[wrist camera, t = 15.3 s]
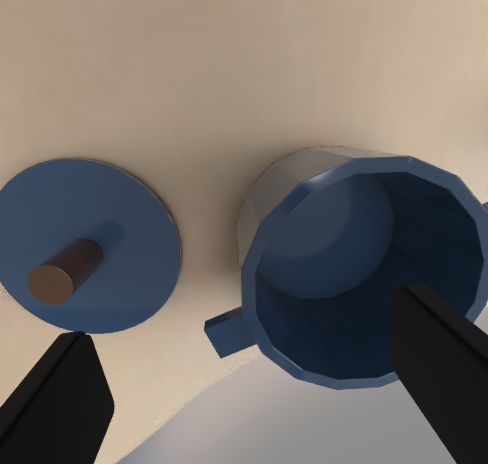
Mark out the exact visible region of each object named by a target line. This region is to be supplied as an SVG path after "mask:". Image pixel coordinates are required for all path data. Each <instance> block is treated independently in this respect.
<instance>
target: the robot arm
mask: <svg viewBox="0 0 488 464" xmlns="http://www.w3.org/2000/svg"><path fill="white" fill-rule="evenodd" d="M393 367H394V370H395V372H396V374H397V376H398V378H399V379H400V381H401V382H402V383H403V385H404V386H405V388H406V389H407V391H408V392H409V394H410V395H411V397H412V398H413V400H414V401H415V403H416V404H417V406H418V407H419V409H420V410H421V412H422V413H423V414H424V416H425V417H426V419H427V420H428V422H429V423H430V425H431V426H432V428H433V429H434V430H435V432H436V434H437V435H438V436H439V438H440V439H441V441H442V442H443V444H444V445H445V447H446V448H447V450H448V451H449V453H450V454H451V456H452V457H453V459H454V460H455V462H456V463H457V464H488V335H487V334H486V333H484V332H483V331H482V330H481V329H480V328H478V327H477V326H476V325H474V324H473V323H472V322H471V321H470V320H468V319H467V318H466V317H465V316H463V315H462V314H461V313H460V312H458V311H457V310H456V309H455V308H453V307H452V306H451V305H450V304H448V303H447V302H446V301H445V300H443V299H442V298H441V297H440V296H438V295H437V294H436V293H435V292H433V291H432V290H431V289H430V288H428V287H427V286H426V285H424V284H423V283H419V284H412V285H405V286H402V287H401V288H400V291H397V292H396V294H395V309H394V340H393ZM113 414H114V400H113V397H112V395H111V392H110V389H109V386H108V383H107V380H106V377H105V374H104V372H103V369H102V366H101V363H100V360H99V357H98V354H97V352H96V349H95V346H94V343H93V340H92V338H91V336H90V335H86V334H85V333H84V332H83V331H76V332H69V333H63V334H60V335H59V336H58V337H57V339H56V340H55V341H54V342H53V344H52V345H51V346H50V347H49V349H48V350H47V351H46V352H45V353H44V355H43V356H42V357H41V358H40V360H39V361H38V362H37V363H36V364H35V366H34V367H33V368H32V369H31V371H30V372H29V373H28V374H27V376H26V377H25V378H24V379H23V380H22V382H21V383H20V384H19V385H18V387H17V388H16V389H15V390H14V391H13V393H12V394H11V395H10V396H9V398H8V399H7V400H6V401H5V403H4V404H3V405H2V406H1V407H0V464H94V462H95V459H96V457H97V454H98V452H99V449H100V447H101V444H102V442H103V439H104V437H105V434H106V432H107V429H108V427H109V424H110V422H111V419H112V417H113Z"/></svg>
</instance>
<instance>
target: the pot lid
mask: <svg viewBox="0 0 488 464" xmlns="http://www.w3.org/2000/svg"><path fill="white" fill-rule="evenodd" d="M180 267H181V245H180V239H179V235H178V232H177V229H176V226H175V224H174V221H173V219H172V217H171V215H170V213H169V212H168V210H167V209H166V207H165V206H164V204H163V203H162V202H161V200H160V199H159V198H158V197H157V196H156V194H155V193H154V192H153V191H152V190H151V189H149V188H148V187H147V186H146V185H145V184H144V183H142V182H141V181H140V180H138V179H137V178H136V177H134V176H132V175H131V174H129V173H127V172H125V171H124V170H122V169H119V168H117V167H115V166H112V165H110V164H107V163H103V162H100V161H96V160H89V159H83V158H65V159H56V160H51V161H47V162H43V163H39V164H37V165H34V166H32V167H29V168H27V169H25V170H24V171H22V172H20V173H19V174H17V175H16V176H15V177H13V178H12V179H11V180H10V181H9V182H7V184H6V185H5V186H4V187H3V188H2V189H1V191H0V282H1V283H2V285H3V286H4V287H5V289H6V290H7V291H8V293H9V294H10V295H11V296H12V297H13V298H14V299H15V300H16V301H17V302H18V303H19V304H20V305H21V306H23V307H24V308H25V309H26V310H28V311H29V312H30V313H32V314H33V315H35V316H36V317H38V318H40V319H42V320H43V321H45V322H47V323H50V324H52V325H54V326H57V327H60V328H63V329H66V330H70V331H75V332H76V331H83V332H84V333H89V334H104V333H113V332H118V331H122V330H126V329H128V328H131V327H134V326H136V325H138V324H140V323H142V322H144V321H145V320H147V319H148V318H150V317H151V316H153V315H154V314H155V313H156V312H157V311H158V310H159V309H160V308H161V307H162V306H163V305H164V304H165V303H166V301H167V300H168V298H169V297H170V295H171V293H172V292H173V290H174V287H175V285H176V283H177V280H178V276H179V272H180Z"/></svg>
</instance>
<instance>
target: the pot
mask: <svg viewBox="0 0 488 464" xmlns="http://www.w3.org/2000/svg"><path fill="white" fill-rule="evenodd" d="M236 225H237V249H238V264H239V277H240V291H241V304H242V306H240V307H238V308H235V309H233V310H231V311H228V312H226V313H223V314H221V315H219V316H216V317H214V318H212V319H209V320H207V321H205V326H204V331H205V333H206V335H207V336H208V338H209V340H210V341H211V343H212V345H213V347H214V348H215V350H216V352H217V353H218V355H219V357H220V358H223V357H226V356H228V355H231V354H233V353H236V352H238V351H241V350H243V349H246V348H248V347H250V346H253V345H255V344H257V345H258V347H259V348H260V350H261V352H262V353H263V354H264V355H265V356H267V357H268V358H269V359H271V360H272V361H273V362H274V363H276V364H277V365H278V366H280V367H281V368H282V369H284V370H285V371H286V372H288V373H289V374H290V375H292V376H293V377H294V378H296V379H299V380H303V381H306V382H310V383H314V384H317V385H321V386H325V387H328V388H332V389H336V390H342V389H357V388H373V387H380V386H384V385H387V384H389V383H392V382H394V381H397V380H400V379H399V378H398V376H397V374H396V372H395V370H394V367H393V340H394V309H395V294H396V292H397V291H400V288H401V287H402V286H405V285H412V284H419V283H423V284H424V285H426V286H427V287H428V288H430V289H431V290H432V291H433V292H435V293H436V294H437V295H438V296H440V297H441V298H442V299H443V300H445V301H446V302H447V303H448V304H450V305H451V306H452V307H453V308H455V309H456V310H457V311H458V312H460V313H461V314H462V315H463V316H465V317H466V318H467V319H468V320H470V321H471V322H472V323H474V322H475V320H476V318H477V317H478V316H479V314H480V313H481V311H482V310H483V309H484V307H485V306H486V304H487V301H488V202H486V203H484V204H481V203H480V202H479V201H478V199H477V198H476V197H475V196H474V195H473V193H472V192H471V191H470V190H469V188H468V187H467V186H466V185H465V184H464V182H463V181H462V180H461V179H460V177H458V176H457V175H455V174H452V173H450V172H447V171H445V170H443V169H440V168H438V167H436V166H433V165H431V164H428V163H426V162H424V161H421V160H419V159H417V158H414V157H411V156H405V155H398V154H391V153H384V152H377V151H370V150H363V149H356V148H349V147H342V146H339V147H312V148H305V149H302V150H300V151H297V152H295V153H292V154H290V155H287V156H286V157H284V158H282V159H280V160H278V161H276V162H274V163H273V164H272V165H271V166H270V167H269V168H267V169H266V170H265V171H264V172H263V173H262V174H261V175H260V176H259V177H258V179H257V180H256V181H255V182H254V183H253V185H252V186H251V187H250V188H249V190H248V192H247V194H246V197H245V199H244V201H243V203H242V206H241V209H240V212H239V215H238V218H237V221H236Z"/></svg>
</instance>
